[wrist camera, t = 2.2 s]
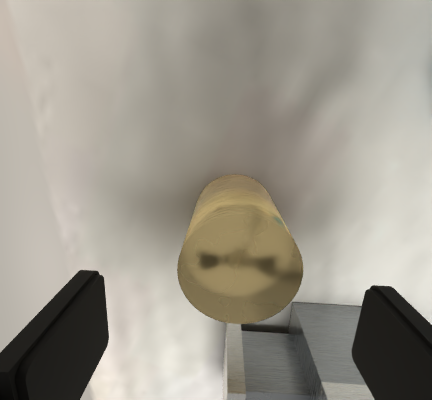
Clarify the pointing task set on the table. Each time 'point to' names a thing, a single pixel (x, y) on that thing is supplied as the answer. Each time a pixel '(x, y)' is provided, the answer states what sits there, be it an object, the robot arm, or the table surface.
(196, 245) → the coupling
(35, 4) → the table surface
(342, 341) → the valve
